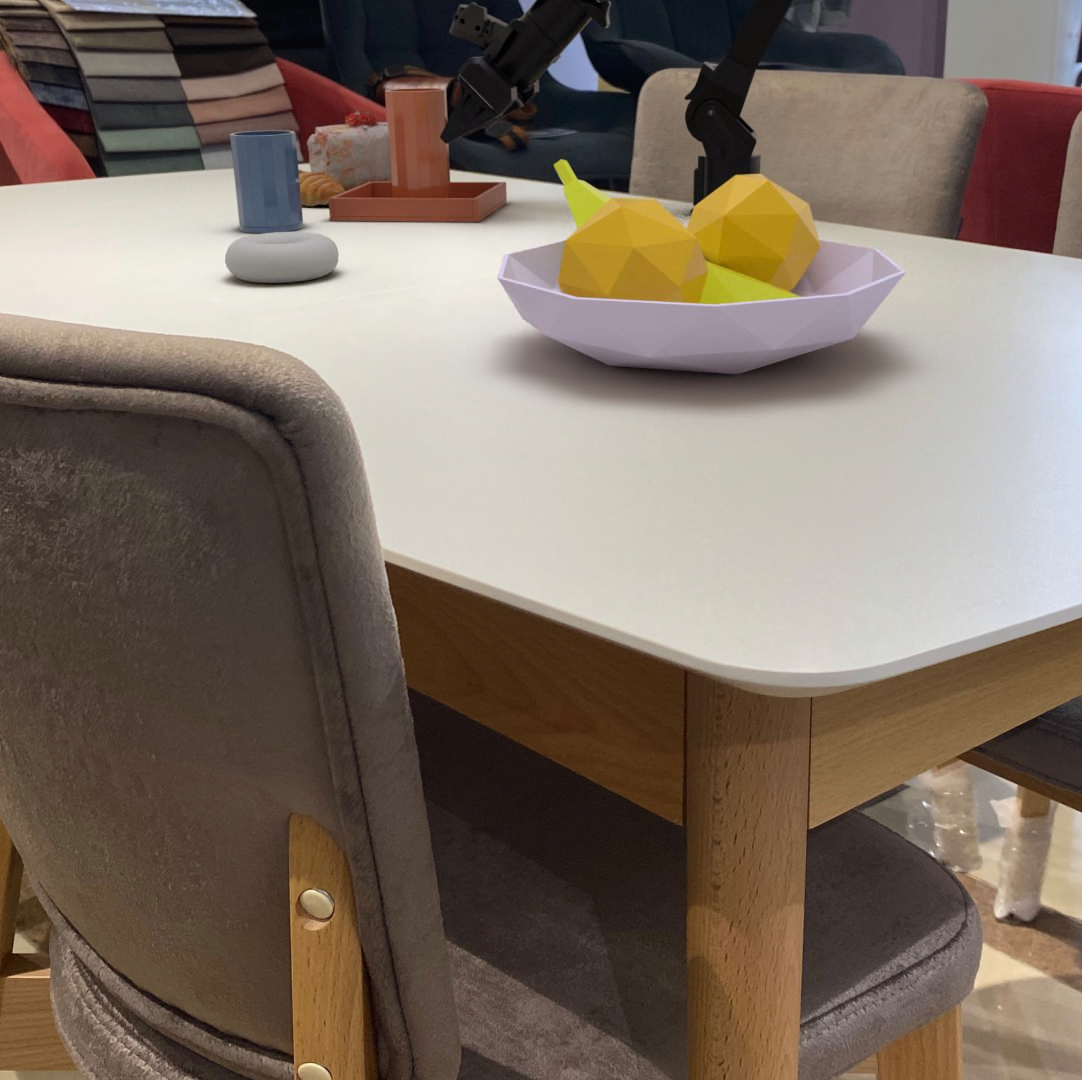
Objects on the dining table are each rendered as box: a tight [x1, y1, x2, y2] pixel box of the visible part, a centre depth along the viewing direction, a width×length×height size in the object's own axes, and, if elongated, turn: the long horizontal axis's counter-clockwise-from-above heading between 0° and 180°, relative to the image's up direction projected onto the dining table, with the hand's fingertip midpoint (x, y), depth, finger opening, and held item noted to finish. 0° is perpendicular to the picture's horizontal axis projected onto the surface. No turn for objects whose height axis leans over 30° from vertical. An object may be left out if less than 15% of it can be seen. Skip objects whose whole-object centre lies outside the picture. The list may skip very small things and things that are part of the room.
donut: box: [224, 231, 340, 284], centre depth 115 cm, size 10×4×10 cm
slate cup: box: [229, 129, 304, 234], centre depth 140 cm, size 7×7×10 cm
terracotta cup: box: [384, 87, 451, 198], centre depth 149 cm, size 7×7×13 cm
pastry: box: [299, 169, 345, 207], centre depth 159 cm, size 9×7×4 cm
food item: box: [306, 110, 390, 191], centre depth 170 cm, size 14×8×10 cm, turn 110°
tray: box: [328, 181, 508, 223], centre depth 151 cm, size 17×15×2 cm
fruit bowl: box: [497, 158, 907, 376], centre depth 87 cm, size 28×27×11 cm
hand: (452, 137), depth 148 cm, fingers open, 9 cm apart
